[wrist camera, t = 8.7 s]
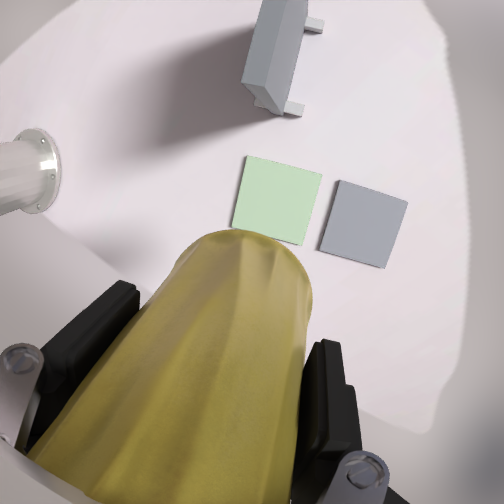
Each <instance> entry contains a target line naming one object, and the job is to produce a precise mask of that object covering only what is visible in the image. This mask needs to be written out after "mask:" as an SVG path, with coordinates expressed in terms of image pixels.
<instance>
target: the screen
mask: <svg viewBox="0 0 504 504" xmlns="http://www.w3.org/2000/svg"><path fill="white" fill-rule="evenodd" d="M307 14H308V0H263V1H262V5H261V8H260V12H259V15H258V19H257V23H256V26H255V30H254V33H253V37H252V41H251V45H250V48H249V52H248V56H247V60H246V64H245V68H244V72H243V76H242V80H241V83H242V84H243V85H244V86H245V87H246V88H247V89H248V90H249V91H250V92H251V93H252V94H253V95H254V96H255V100H254V104H253V105H254V106H257V107H262V108H266V109H268V110H269V111H270V112H271V113H272V114H276V115H281V116H283V115H284V113H288V114H292V115H296V116H300V117H302V114H303V110H304V106H305V105H303V104H299V103H295V102H291V101H287V98H288V94H289V90H290V86H291V82H292V78H293V74H294V70H295V66H296V62H297V58H298V54H299V49H300V45H301V41H302V37H303V33H304V29H305V30H309V31H314V32H318V33H322V31H323V27H324V23H325V21H324V20H320V19H315V18H311V17H307Z"/></svg>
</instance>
